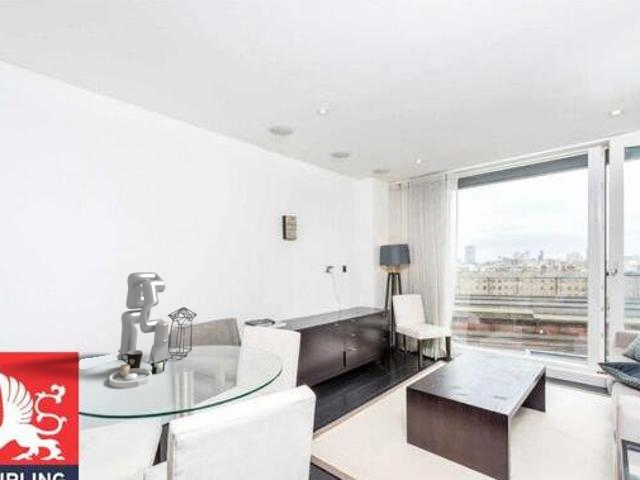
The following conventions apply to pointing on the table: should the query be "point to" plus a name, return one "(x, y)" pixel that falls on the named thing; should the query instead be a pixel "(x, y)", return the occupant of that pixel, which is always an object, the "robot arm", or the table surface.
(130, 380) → the groove tray
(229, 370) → the table surface
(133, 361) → the coffee mug
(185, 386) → the table surface
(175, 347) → the geometric lantern
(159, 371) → the sage bead
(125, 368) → the birch bead
